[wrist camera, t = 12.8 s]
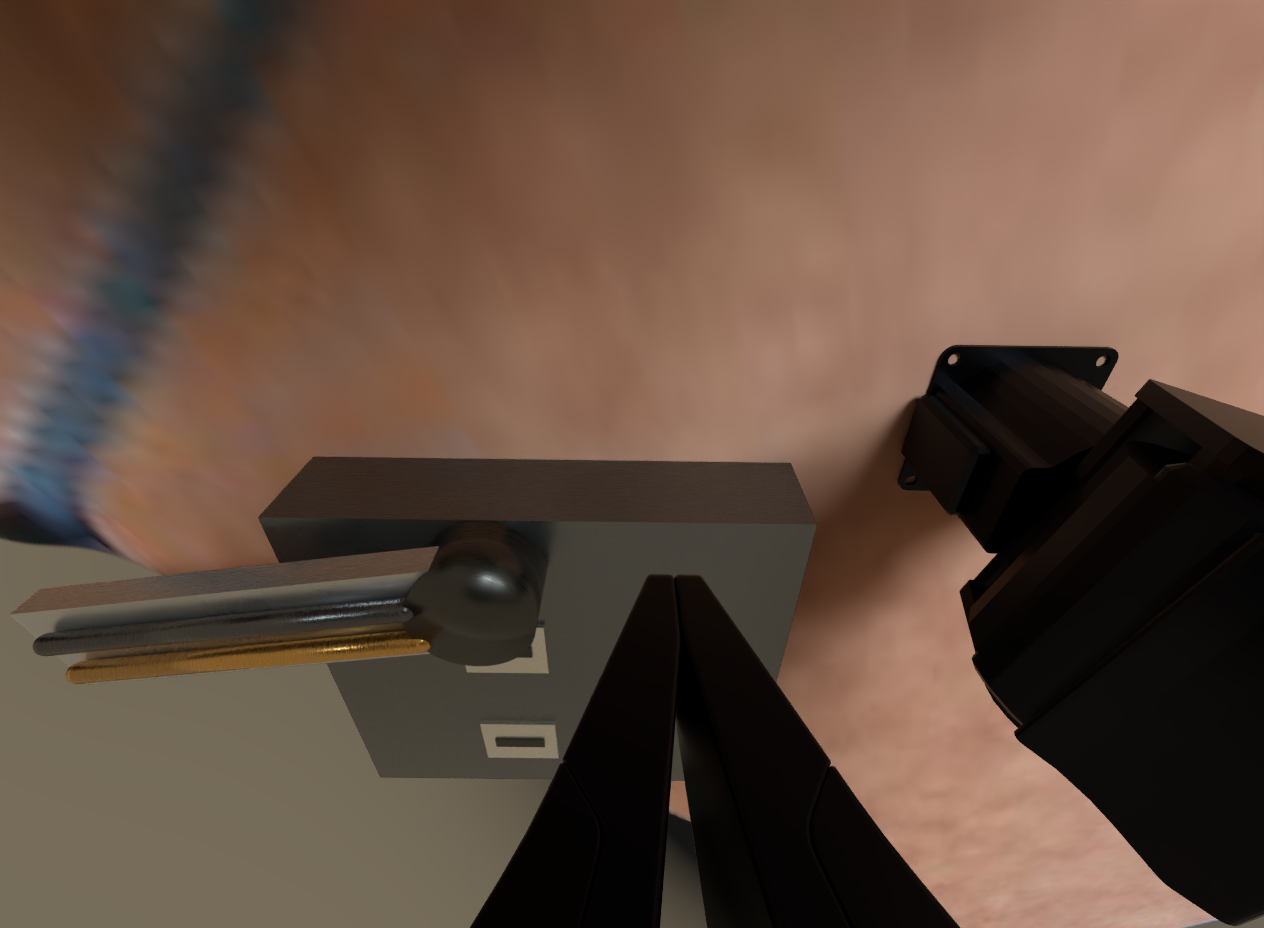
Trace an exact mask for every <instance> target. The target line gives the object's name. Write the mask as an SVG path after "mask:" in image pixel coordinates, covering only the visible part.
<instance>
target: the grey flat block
mask: <svg viewBox="0 0 1264 928" xmlns="http://www.w3.org/2000/svg"><path fill="white" fill-rule="evenodd" d="M258 518H259V521H260V523H261V525H262V527H263V529H264V531H265V533H266V535H267V538H268V540H269V542H270V544H271V546H272V548H273V550H274V552H275V555H276V557H277V559H278V561H279V563H285V562H295V561H304V560H313V559H323V558H332V557H341V556H351V555H360V554H369V553H379V552H388V551H397V550H407V549H416V548H425V547H430V545H431V543H432V542H433V540H434V539H435V538H436V537H437V535H439V534H440V533H441V532H442V531H444V530H446V529H447V528H449V527H452V526H454V525H457V524H460V523H465V522H474V521H482V522H492V523H497V524H501V525H504V526H507V527H510V528H512V529H514V530H516V531H518V532H520V533H522V534H523V535H525V536H526V537H527V538H529V539H530V540H531V541H532V542H533V543H534V544H535V545H536V546H537V547H538V549H539V550H540V551H541V553H542V555H543V557H544V559H545V562H546V568H547V574H546V580H545V585H544V591H543V596H542V601H541V607H540V612H539V617H538V623H537V628H536V633H535V637H534V640H533V642H532V644H531V646H530V647H529V648H528V649H527V651H525V652H524V653H523V654H522V655H520V656H519V657H517V658H515V659H513V660H511V661H509V662H506V663H502V664H498V665H492V666H467V665H461V664H456V663H452V662H449V661H446V660H443V659H440V658H438V657H436V656H434V655H432V654H421V655H410V656H399V657H388V658H377V659H366V660H355V661H344V662H333V663H327V665H328V667H329V669H330V671H331V673H332V676H333V678H334V680H335V682H336V684H337V686H338V688H339V690H340V693H341V695H342V697H343V699H344V701H345V703H346V705H347V707H348V709H349V712H350V714H351V716H352V718H353V720H354V722H355V724H356V727H357V728H358V731H359V733H360V735H361V737H362V739H363V741H364V743H365V746H366V748H367V750H368V752H369V754H370V756H371V758H372V761H373V763H374V765H375V767H376V769H377V771H378V773H379V775H380V777H397V778H398V777H399V778H401V777H402V778H403V777H404V778H406V777H407V778H484V779H485V778H487V779H488V778H489V779H492V778H493V779H553V777H554V775H555V773H556V771H557V769H558V767H559V765H560V764H561V763H563V757H564V754H565V752H566V750H567V748H568V746H569V744H570V741H571V739H572V737H573V735H574V733H575V731H576V728H577V726H578V724H579V722H580V720H581V718H582V716H583V713H584V711H585V709H586V707H587V705H588V703H589V700H590V698H591V696H592V694H593V692H594V690H595V687H596V685H597V683H598V681H599V679H600V677H601V675H602V672H603V670H604V668H605V666H606V664H607V662H608V659H609V657H610V655H611V653H612V651H613V649H614V647H615V644H616V642H617V640H618V638H619V636H620V634H621V631H622V629H623V627H624V625H625V623H626V621H627V618H628V616H629V614H630V612H631V610H632V608H633V606H634V603H635V601H636V599H637V597H638V595H639V593H640V590H641V588H642V586H643V584H644V582H645V580H646V578H647V576H648V575H650V574H671V575H673V577H674V578H675V576H676V575H678V574H694V575H700V576H702V577H703V579H704V580H705V581H706V583H707V584H708V586H709V587H710V589H711V590H712V591H713V593H714V594H715V596H716V597H717V599H718V600H719V602H720V603H721V604H722V606H723V607H724V609H725V610H726V612H727V613H728V614H729V616H730V617H731V619H732V620H733V622H734V623H735V624H736V626H737V627H738V629H739V630H740V632H741V633H742V635H743V636H744V637H745V639H746V640H747V642H748V643H749V645H750V646H751V647H752V649H753V650H754V652H755V653H756V655H757V656H758V657H759V659H760V660H761V662H762V663H763V665H764V666H765V667H766V669H767V670H768V672H769V673H770V675H771V676H772V678H773V679H774V680H775V682H776V681H777V678H778V674H779V670H780V666H781V662H782V658H783V654H784V651H785V647H786V643H787V639H788V635H789V631H790V627H791V624H792V620H793V616H794V612H795V608H796V604H797V600H798V597H799V593H800V589H801V585H802V581H803V577H804V573H805V570H806V566H807V562H808V558H809V554H810V550H811V546H812V543H813V539H814V535H815V531H816V527H817V523H816V521H815V518H814V516H813V514H812V511H811V509H810V507H809V505H808V502H807V500H806V498H805V495H804V493H803V491H802V488H801V486H800V484H799V481H798V479H797V477H796V474H795V472H794V470H793V468H792V465H791V463H744V462H668V461H592V460H515V459H439V458H362V457H313V458H312V459H311V460H310V461H309V462H308V463H307V464H306V465H305V466H304V468H303V469H302V470H301V471H300V472H299V473H298V474H297V475H296V476H295V477H294V479H293V480H292V481H291V482H290V483H289V484H288V485H287V486H286V487H285V488H284V489H283V491H282V492H281V493H280V494H279V495H278V496H277V497H276V498H275V499H274V500H273V502H272V503H271V504H270V505H269V506H268V507H267V508H266V509H265V510H264V511H263V513H262V514H261V515H260V516H259V517H258ZM671 781H685V780H684V773H683V767H682V760H681V754H680V747H679V741H678V734H677V727H676V722H675V735H674V749H673V762H672V775H671Z"/></svg>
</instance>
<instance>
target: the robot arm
mask: <svg viewBox="0 0 1264 928" xmlns="http://www.w3.org/2000/svg"><path fill="white" fill-rule="evenodd" d="M954 353H960V359H959V360H958V361H957V362H956V363H954V364H949V363H948V359H949V357H950V356H951V355H952V354H954ZM1103 355H1108V360H1107V361H1106V362H1105V363H1104V364H1103V365H1101V366H1096V361H1097V360H1098V359H1099V358H1100V357H1102V356H1103ZM1117 360H1118V352H1117V351H1116V350H1115V349H1113V348H1109V347H1071V346H998V345H954V346H951V347H949V348H947V349H946V350H945V351H944V352H943V353H942V355H941V356H940V358H939V361H938V364H937V367H936V370H935V373H934V376H933V379H932V382H931V385H930V387H929V390H928V393H927V395H924V396H922V397H921V398H920V399H919V400H918V403H917V406H916V408H915V411H914V414H913V417H912V420H911V423H910V426H909V429H908V432H907V435H906V438H905V441H904V444H903V447H902V450H901V453H902V454H903V456H904V457H905V460H904V463H903V466H902V469H901V472H900V474H899V477H898V484H899V486H900V487H901V488H902V489H904V490H929V491H931V492H932V494H933V495H934V496H935V498H936V499H937V500H938V502H939V503H940V504H941V506H942V507H943V508H944V509H945V511H946V512H947V513H948V514H949V515H958V517H959V518H960V519H961V520H962V522H963V523H964V524H965V525H966V527H967V528H968V529H969V531H970V532H971V533H972V534H973V536H974V537H975V538H976V539H977V541H978V542H979V543H980V545H981V546H982V547H983V548H984V550H985V551H986V552H987V553H997V555H996V556H995V557H994V558H993V559H992V560H991V561H990V562H989V563H988V565H987V566H986V567H985V568H984V569H983V570H982V571H981V572H980V573H979V574H978V576H977V577H976V578H975V579H974V580H969V581H968V582H967V583H966V584H965V585H964V586H963V587H962V589H961V590H960V596H961V599H962V603H963V607H964V611H965V615H966V618H967V622H968V626H969V630H970V634H971V637H972V641H973V645H974V649H975V654H974V655H973V657H972V661H973V664H974V667H975V670H976V671H977V673H978V674H979V676H980V677H981V679H982V680H983V682H984V683H985V686H986V688H987V690H988V692H989V693H990V695H991V697H992V699H993V701H994V702H995V703H996V705H998V707H999V708H1000V709H1001V710H1002V712H1003V713H1004V714H1005V715H1006V717H1007V718H1008V719H1009V720H1010V721H1011V722H1012V723H1013V724H1014V725H1015V726H1016V727H1017V728H1018V729H1016V730H1015V731H1014V734H1015V736H1016V738H1017V739H1018V740H1019V742H1021V743H1022V744H1023V745H1024V746H1026V747H1027V748H1029V749H1030V750H1031V751H1033V752H1034V753H1035V754H1037V755H1038V756H1039V757H1041V758H1042V759H1043V760H1045V761H1046V762H1047V763H1049V764H1050V765H1052V766H1053V767H1054V768H1056V769H1057V770H1058V771H1059V772H1060V773H1061V774H1062V775H1063V776H1064V777H1066V778H1067V779H1068V780H1069V781H1070V782H1071V783H1072V784H1073V785H1074V786H1075V787H1076V788H1078V789H1079V790H1080V791H1081V792H1082V793H1083V794H1084V795H1085V796H1086V797H1087V798H1088V799H1090V800H1091V801H1092V803H1093V804H1094V805H1095V806H1096V807H1097V808H1098V809H1099V810H1100V811H1101V812H1102V813H1103V814H1104V816H1105V817H1106V818H1107V819H1108V820H1109V821H1110V822H1111V823H1112V824H1113V825H1114V827H1115V828H1116V829H1117V830H1118V831H1119V832H1120V833H1121V835H1122V836H1123V837H1124V838H1125V839H1126V840H1127V842H1128V843H1129V844H1130V845H1131V846H1132V847H1133V849H1134V850H1135V851H1136V852H1137V853H1138V854H1139V855H1140V857H1141V858H1142V859H1143V860H1144V861H1145V862H1146V864H1147V865H1148V866H1149V867H1150V868H1151V869H1152V871H1153V872H1154V873H1155V874H1156V875H1157V876H1158V877H1159V878H1160V879H1161V880H1162V881H1163V882H1164V883H1165V884H1166V885H1167V886H1169V887H1170V888H1171V889H1173V890H1174V891H1176V892H1177V893H1179V894H1180V895H1182V896H1183V897H1185V898H1186V899H1188V900H1189V901H1191V902H1192V903H1194V904H1195V905H1197V906H1198V907H1200V908H1201V909H1203V910H1204V911H1206V912H1207V913H1209V914H1210V915H1211V916H1213V917H1214V918H1216V919H1218V920H1219V921H1221V922H1223V923H1225V924H1228V925H1232V926H1240V925H1242V924H1245V923H1247V922H1250V921H1252V920H1255V919H1257V918H1260V917H1262V916H1264V416H1262V415H1259V414H1256V413H1253V412H1250V411H1247V410H1244V409H1241V408H1238V407H1235V406H1232V405H1228V404H1225V403H1222V402H1219V401H1216V400H1213V399H1210V398H1207V397H1204V396H1201V395H1198V394H1195V393H1192V392H1189V391H1186V390H1183V389H1179V388H1176V387H1173V386H1170V385H1167V384H1164V383H1161V382H1158V381H1155V380H1152V379H1149V380H1148V381H1147V382H1146V383H1145V384H1144V386H1143V387H1142V388H1141V389H1140V390H1139V391H1138V392H1137V393H1136V395H1135V397H1137V399H1136V401H1135V402H1134V403H1133V404H1132V405H1131V406H1130V407H1129V408H1128V407H1127V406H1125V405H1124V404H1122V403H1120V402H1119V401H1117V400H1115V399H1114V398H1112V397H1111V396H1109V395H1107V394H1106V393H1104V392H1102V391H1101V390H1102V388H1103V387H1104V385H1105V383H1106V381H1107V379H1108V377H1109V375H1110V374H1111V372H1112V370H1113V368H1114V366H1115V364H1116V362H1117ZM910 476H916V479H915V481H914V482H912V483H909V484H907V483H905V480H906V479H907V478H908V477H910ZM675 722H676V727H677V734H678V741H679V747H680V754H681V760H682V767H683V773H684V780H685V786H686V793H687V799H688V806H689V812H690V819H691V825H692V831H693V838H694V845H695V851H696V858H697V864H698V871H699V877H700V884H701V890H702V897H703V903H704V909H705V916H706V923H707V928H960V927H959V926H958V924H957V923H956V922H955V921H954V920H953V918H952V917H951V916H950V915H949V914H948V912H947V911H946V910H945V909H944V908H943V907H942V905H941V904H940V903H939V902H938V901H937V899H936V898H935V897H934V896H933V895H932V893H931V892H930V891H929V890H928V889H927V887H926V886H925V885H924V884H923V883H922V881H921V880H920V879H919V878H918V876H917V875H916V874H915V873H914V872H913V870H912V869H911V868H910V867H909V865H908V864H907V863H906V862H905V860H904V859H903V858H902V857H901V855H900V854H899V853H898V852H897V851H896V849H895V848H894V847H893V846H892V844H891V843H890V842H889V841H888V839H887V838H886V837H885V836H884V834H883V833H882V832H881V830H880V829H879V827H878V826H877V825H876V823H875V822H874V821H873V819H872V818H871V817H870V815H869V814H868V813H867V811H866V810H865V808H864V807H863V806H862V804H861V803H860V802H859V800H858V799H857V798H856V796H855V795H854V793H853V792H852V791H851V789H850V788H849V786H848V785H847V783H846V782H845V780H844V779H843V778H842V776H841V775H840V773H839V772H838V770H837V769H836V768H835V767H834V766H830V764H831V762H830V759H829V758H828V756H827V755H826V754H825V752H824V751H823V749H822V748H821V746H820V745H819V744H818V742H817V741H816V739H815V738H814V736H813V735H812V733H811V732H810V731H809V729H808V728H807V726H806V725H805V723H804V722H803V721H802V719H801V718H800V716H799V715H798V713H797V712H796V711H795V709H794V708H793V706H792V705H791V703H790V702H789V700H788V699H787V698H786V696H785V695H784V693H783V692H782V690H781V689H780V688H779V686H778V685H777V683H776V682H775V680H774V679H773V678H772V676H771V675H770V673H769V672H768V670H767V669H766V667H765V666H764V665H763V663H762V662H761V660H760V659H759V657H758V656H757V655H756V653H755V652H754V650H753V649H752V647H751V646H750V645H749V643H748V642H747V640H746V639H745V637H744V636H743V635H742V633H741V632H740V630H739V629H738V627H737V626H736V624H735V623H734V622H733V620H732V619H731V617H730V616H729V614H728V613H727V612H726V610H725V609H724V607H723V606H722V604H721V603H720V602H719V600H718V599H717V597H716V596H715V594H714V593H713V591H712V590H711V589H710V587H709V586H708V584H707V583H706V581H705V580H704V579H703V577H702V576H700V575H694V574H678V575H676V576H675V578H674V577H673V575H671V574H650V575H648V576H647V578H646V580H645V582H644V584H643V586H642V588H641V590H640V593H639V595H638V597H637V599H636V601H635V603H634V606H633V608H632V610H631V612H630V614H629V616H628V618H627V621H626V623H625V625H624V627H623V629H622V631H621V634H620V636H619V638H618V640H617V642H616V644H615V647H614V649H613V651H612V653H611V655H610V657H609V659H608V662H607V664H606V666H605V668H604V670H603V672H602V675H601V677H600V679H599V681H598V683H597V685H596V687H595V690H594V692H593V694H592V696H591V698H590V700H589V703H588V705H587V707H586V709H585V711H584V713H583V716H582V718H581V720H580V722H579V724H578V726H577V728H576V731H575V733H574V735H573V737H572V739H571V741H570V744H569V746H568V748H567V750H566V752H565V754H564V757H563V763H561V764H560V765H559V767H558V769H557V771H556V773H555V775H554V777H553V779H552V782H551V784H550V786H549V788H548V790H547V792H546V794H545V796H544V798H543V800H542V802H541V804H540V806H539V808H538V810H537V812H536V814H535V816H534V818H533V820H532V822H531V824H530V826H529V828H528V830H527V832H526V834H525V835H524V837H523V839H522V841H521V842H520V844H519V846H518V848H517V850H516V851H515V853H514V855H513V856H512V858H511V860H510V862H509V864H508V865H507V867H506V869H505V871H504V872H503V874H502V876H501V877H500V879H499V881H498V882H497V884H496V886H495V887H494V889H493V891H492V892H491V894H490V896H489V897H488V899H487V901H486V902H485V904H484V905H483V907H482V909H481V910H480V912H479V914H478V916H477V917H476V918H475V920H474V922H473V924H472V925H471V927H470V928H660V919H661V905H662V892H663V879H664V866H665V853H666V839H667V826H668V814H669V801H670V788H671V775H672V762H673V749H674V735H675Z"/></svg>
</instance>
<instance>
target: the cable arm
mask: <svg viewBox="0 0 1264 928" xmlns="http://www.w3.org/2000/svg"><path fill="white" fill-rule="evenodd" d="M546 574H547V568H546V562H545V559H544V557H543V555H542V553H541V551H540V550H539V549H538V547H537V546H536V545H535V544H534V543H533V542H532V541H531V540H530V539H529V538H527V537H526V536H525V535H523V534H522V533H520V532H518V531H516V530H514V529H512V528H510V527H507V526H504V525H501V524H497V523H492V522H482V521H474V522H465V523H460V524H457V525H454V526H452V527H449V528H447V529H446V530H444V531H442V532H441V533H440V534H439V535H437V537H436V538H435V539H434V540H433V542H432V543H431V545H430V547H425V548H416V549H407V550H397V551H388V552H379V553H369V554H360V555H351V556H341V557H332V558H323V559H313V560H304V561H295V562H285V563H276V564H267V565H258V566H248V567H239V568H230V569H220V570H211V571H202V572H192V573H183V574H174V575H164V576H156V577H146V578H136V579H127V580H118V581H109V582H99V583H90V584H80V585H71V586H62V587H53V588H44V589H40V590H38V591H37V592H36V593H35V594H34V595H32V596H31V597H30V598H29V599H28V600H26V601H25V602H24V603H23V604H21V605H20V606H19V607H18V608H16V609H15V610H14V611H13V612H12V613H10V616H11V617H12V618H13V619H14V620H16V621H17V622H18V623H19V624H20V625H21V626H22V627H24V628H25V629H26V630H27V631H28V632H29V633H30V634H32V635H33V636H34V637H35V638H36V640H35V642H34V644H33V650H34V652H35V653H37V654H38V655H41V656H53V655H55V656H57V657H58V658H59V659H60V660H61V661H62V662H63V663H64V664H66V665H67V666H68V667H69V668H68V670H67V672H66V679H67V680H68V681H69V682H71V683H73V684H84V683H87V684H89V685H90V684H101V683H112V682H122V681H133V680H145V679H156V678H167V677H178V676H189V675H200V674H211V673H222V672H233V671H244V670H256V669H266V668H277V667H288V666H300V665H311V664H322V663H333V662H344V661H355V660H366V659H377V658H388V657H399V656H410V655H421V654H432V655H434V656H436V657H438V658H440V659H443V660H446V661H449V662H452V663H456V664H461V665H467V666H492V665H498V664H502V663H506V662H509V661H511V660H513V659H515V658H517V657H519V656H520V655H522V654H523V653H524V652H525V651H527V649H528V648H529V647H530V646H531V644H532V642H533V640H534V637H535V633H536V628H537V623H538V617H539V612H540V607H541V601H542V596H543V591H544V585H545V580H546Z"/></svg>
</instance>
